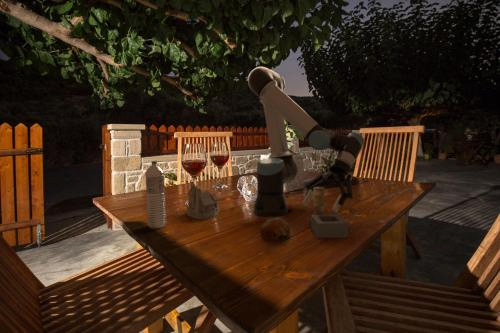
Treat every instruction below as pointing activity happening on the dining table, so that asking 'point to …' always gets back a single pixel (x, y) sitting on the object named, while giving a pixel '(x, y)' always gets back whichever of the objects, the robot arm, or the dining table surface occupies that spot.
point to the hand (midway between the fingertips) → (318, 207)
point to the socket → (329, 226)
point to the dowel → (318, 201)
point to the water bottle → (155, 196)
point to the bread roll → (275, 230)
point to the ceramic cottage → (202, 203)
